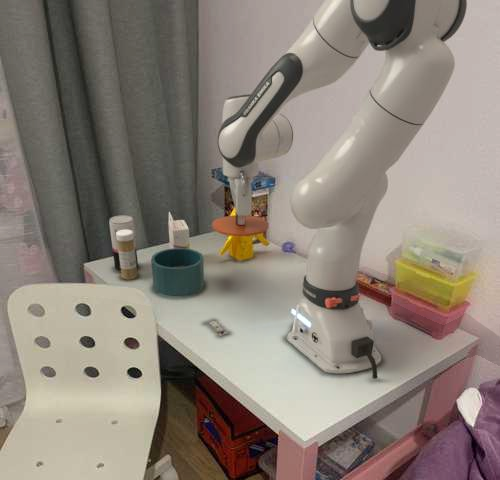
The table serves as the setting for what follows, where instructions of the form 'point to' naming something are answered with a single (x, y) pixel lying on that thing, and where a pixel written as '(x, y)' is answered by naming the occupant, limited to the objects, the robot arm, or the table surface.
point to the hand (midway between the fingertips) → (240, 221)
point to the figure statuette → (241, 245)
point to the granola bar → (218, 328)
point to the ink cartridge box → (178, 234)
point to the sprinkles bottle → (127, 254)
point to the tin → (178, 272)
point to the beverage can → (116, 225)
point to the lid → (240, 226)
